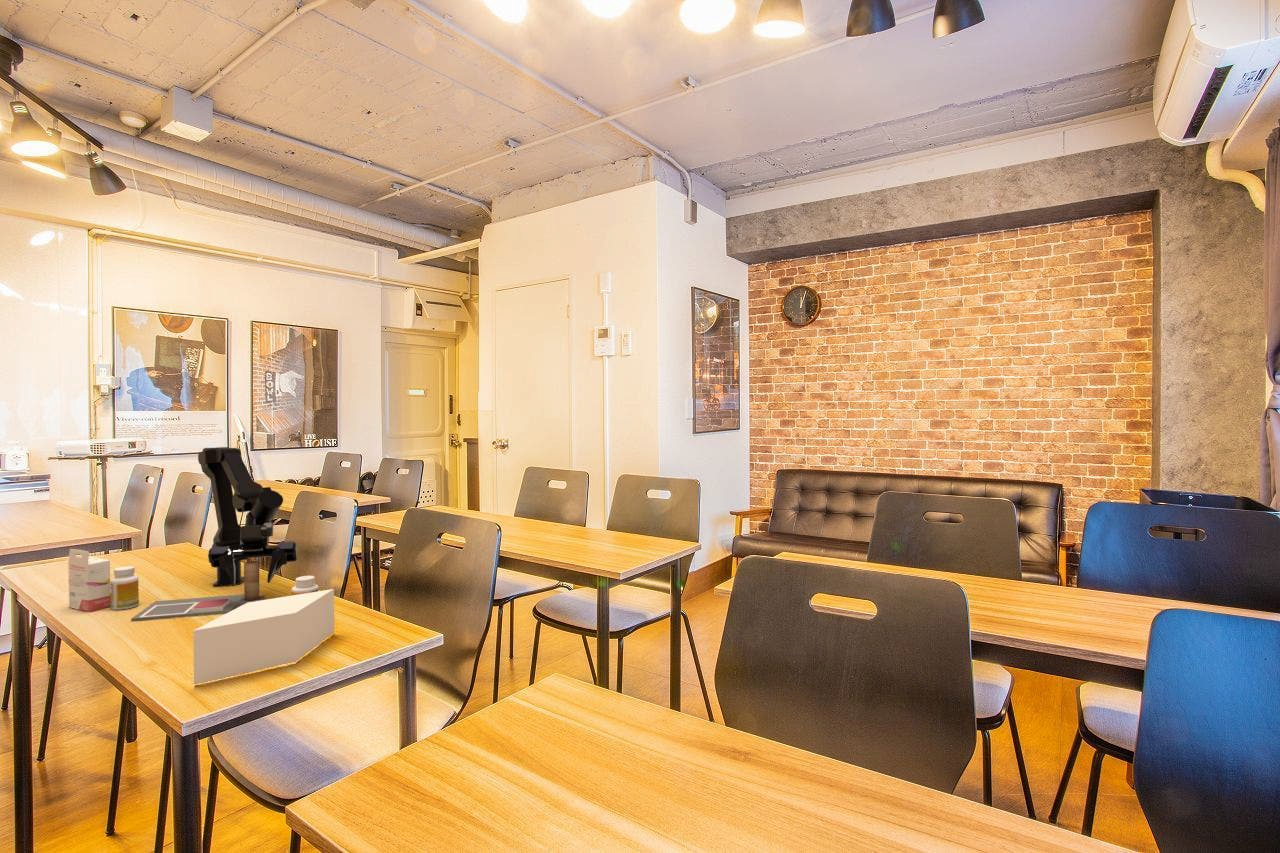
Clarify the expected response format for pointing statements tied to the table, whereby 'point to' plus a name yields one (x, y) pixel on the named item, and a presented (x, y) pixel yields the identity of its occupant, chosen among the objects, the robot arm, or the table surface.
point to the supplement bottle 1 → (124, 588)
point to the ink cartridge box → (88, 582)
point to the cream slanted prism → (262, 635)
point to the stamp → (251, 583)
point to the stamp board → (189, 607)
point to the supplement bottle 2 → (305, 585)
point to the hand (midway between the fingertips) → (250, 583)
